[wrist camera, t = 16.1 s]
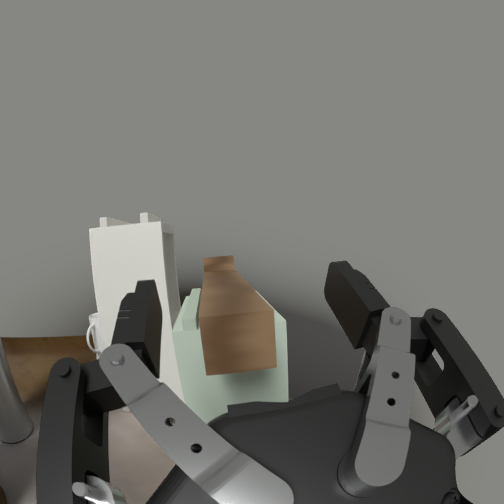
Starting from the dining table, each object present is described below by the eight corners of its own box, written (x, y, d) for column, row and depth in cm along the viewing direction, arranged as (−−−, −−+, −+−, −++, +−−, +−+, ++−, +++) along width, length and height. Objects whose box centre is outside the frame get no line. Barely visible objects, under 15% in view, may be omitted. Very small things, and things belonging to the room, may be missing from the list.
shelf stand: (123, 411, 38) (88, 219, 36) (138, 377, 52) (116, 224, 50) (187, 412, 40) (160, 211, 38) (190, 376, 54) (172, 219, 52)
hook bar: (206, 375, 14) (194, 283, 14) (206, 295, 38) (203, 257, 37) (276, 367, 14) (271, 276, 14) (235, 293, 38) (232, 255, 38)
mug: (102, 369, 54) (91, 323, 53) (82, 362, 56) (72, 319, 56) (131, 354, 65) (123, 312, 65) (111, 349, 68) (103, 310, 67)
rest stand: (207, 484, 23) (170, 320, 22) (204, 415, 39) (185, 289, 38) (288, 473, 24) (285, 309, 23) (263, 409, 40) (255, 283, 39)
